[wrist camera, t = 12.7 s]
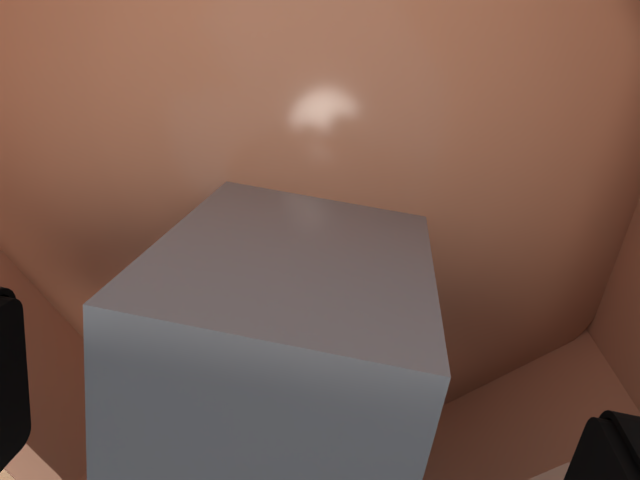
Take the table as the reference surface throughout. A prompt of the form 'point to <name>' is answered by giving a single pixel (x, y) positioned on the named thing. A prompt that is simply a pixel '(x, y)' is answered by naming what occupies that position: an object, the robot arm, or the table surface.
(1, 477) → the table surface
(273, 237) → the grey sharp-edged cuboid
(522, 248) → the bowl
